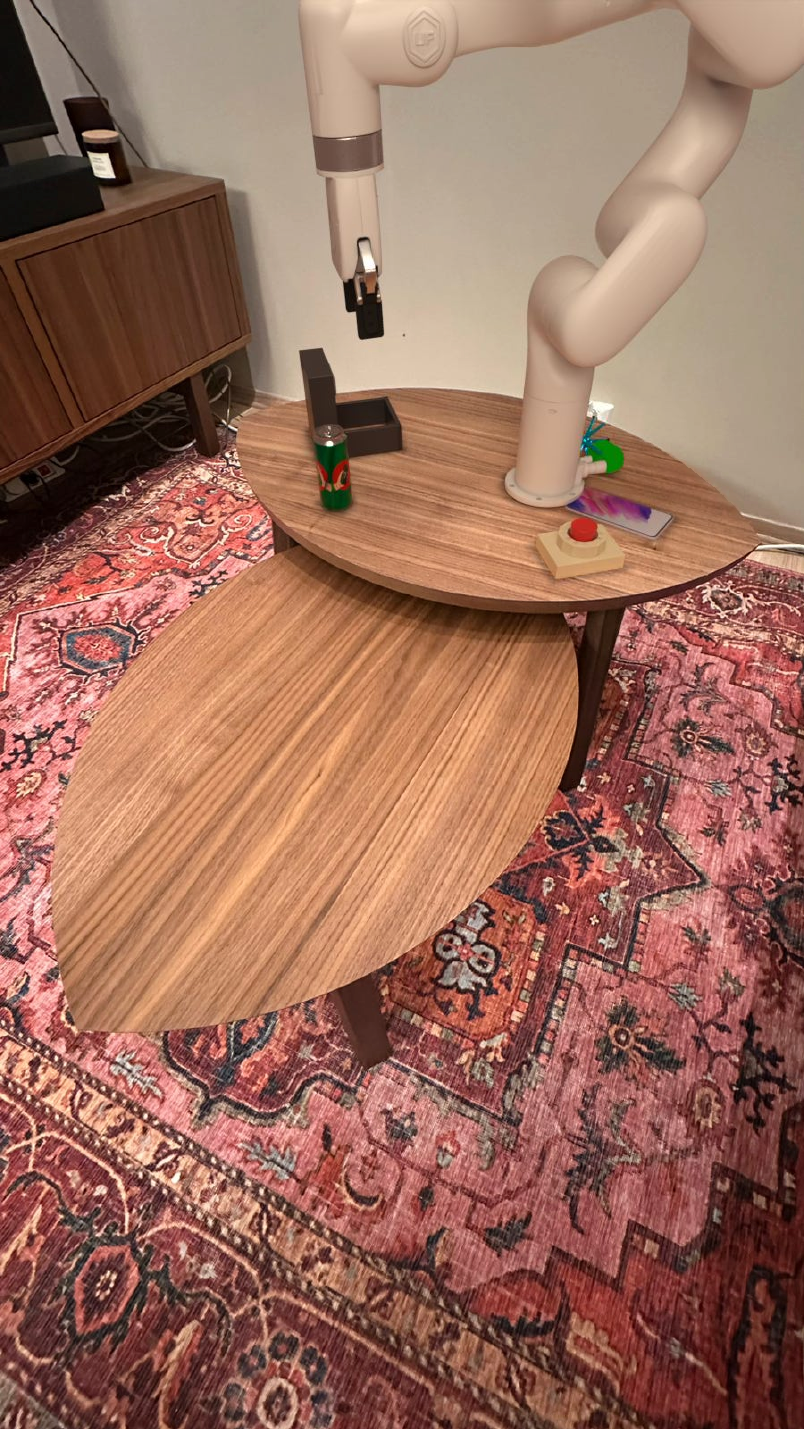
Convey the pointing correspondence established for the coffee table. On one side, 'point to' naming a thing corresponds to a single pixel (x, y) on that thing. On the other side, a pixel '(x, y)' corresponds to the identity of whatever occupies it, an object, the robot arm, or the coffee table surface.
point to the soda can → (333, 467)
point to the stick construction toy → (602, 449)
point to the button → (583, 530)
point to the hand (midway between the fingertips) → (364, 323)
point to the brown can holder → (347, 410)
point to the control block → (579, 552)
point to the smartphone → (621, 513)
